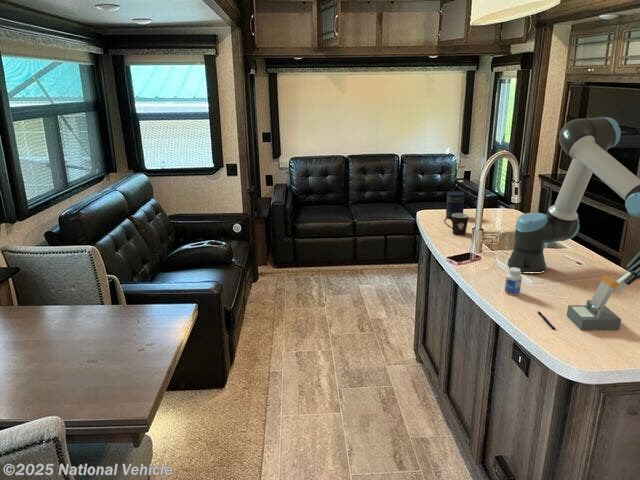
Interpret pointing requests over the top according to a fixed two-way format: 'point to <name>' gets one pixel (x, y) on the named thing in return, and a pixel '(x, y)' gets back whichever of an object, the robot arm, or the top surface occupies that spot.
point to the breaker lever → (602, 293)
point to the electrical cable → (546, 320)
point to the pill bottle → (513, 281)
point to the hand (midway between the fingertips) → (615, 288)
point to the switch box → (593, 318)
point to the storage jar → (454, 203)
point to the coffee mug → (459, 223)
